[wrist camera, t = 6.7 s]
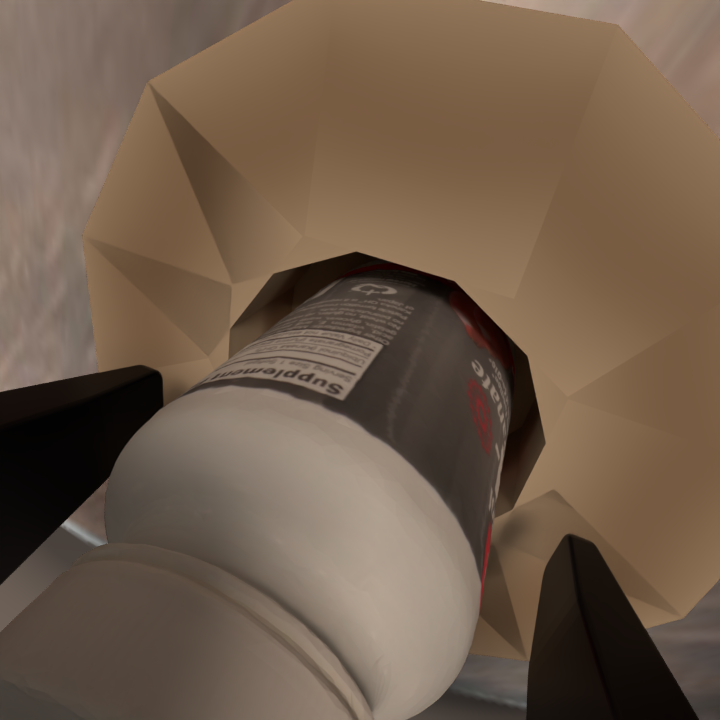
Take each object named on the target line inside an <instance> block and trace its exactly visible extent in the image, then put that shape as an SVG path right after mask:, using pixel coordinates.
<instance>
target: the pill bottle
mask: <svg viewBox="0 0 720 720" xmlns="http://www.w3.org/2000/svg"><path fill="white" fill-rule="evenodd" d="M516 376H517V369H516V355H515V349H514V344H513V340H512V339H511V338H510V337H509V336H508V335H507V334H506V333H505V332H504V331H503V330H502V329H501V328H500V327H499V326H498V325H497V324H496V323H495V322H494V321H493V320H492V319H491V318H490V317H489V316H488V315H487V314H486V313H485V312H484V311H483V310H482V309H481V308H480V306H479V305H478V304H477V303H476V302H475V301H474V300H473V299H472V298H471V297H470V296H469V295H468V294H467V293H466V292H465V291H464V290H463V289H462V288H461V287H460V286H459V285H458V284H457V283H456V282H455V281H453V280H450V279H446V278H443V277H440V276H436V275H433V274H430V273H426V272H423V271H420V270H417V269H413V268H410V267H407V266H403V265H400V264H397V263H393V262H390V261H387V260H383V259H380V260H375V261H371V262H368V263H366V264H362V265H359V266H357V267H355V268H353V269H351V270H350V271H348V272H346V273H344V274H343V275H341V276H340V277H338V278H337V279H336V280H334V281H332V282H331V283H329V284H328V285H327V286H325V287H323V288H322V289H320V290H319V291H318V292H317V293H316V294H315V295H313V296H312V297H311V298H309V299H308V300H306V301H305V302H304V303H303V304H301V305H300V306H299V307H297V308H296V309H295V310H294V311H293V312H291V313H290V314H288V315H287V316H285V317H284V318H283V319H281V320H280V321H279V322H277V323H276V324H275V325H274V326H272V327H271V328H270V329H269V330H267V331H266V332H265V333H264V334H262V335H261V336H260V337H258V338H257V339H256V340H254V341H253V342H252V343H250V344H249V345H247V346H246V347H244V348H243V349H242V350H240V351H239V352H238V353H236V354H235V355H234V356H233V357H231V358H230V359H229V360H227V361H226V362H224V363H223V364H222V365H220V366H219V367H218V368H216V369H215V370H214V371H213V372H211V373H210V374H209V375H207V376H206V377H205V378H203V379H202V380H200V381H199V382H198V383H196V384H195V385H194V386H192V387H191V388H190V389H188V390H187V391H186V392H185V393H183V394H182V395H181V396H179V397H178V398H176V399H175V400H173V401H172V402H170V403H169V404H167V405H166V406H164V407H163V408H161V409H160V410H159V411H158V412H157V413H156V414H155V415H154V416H153V417H152V418H151V419H150V420H149V421H148V422H146V423H145V424H144V425H143V426H142V427H141V428H140V429H139V430H138V431H137V432H136V433H135V434H134V435H133V437H132V438H131V439H130V441H129V442H128V443H127V444H126V446H125V447H124V449H123V450H122V452H121V453H120V455H119V457H118V459H117V460H116V462H115V465H114V467H113V470H112V472H111V475H110V478H109V482H108V486H107V490H106V496H105V528H106V535H107V539H108V544H105V545H101V546H98V547H96V548H94V549H92V550H90V551H88V552H86V553H85V554H83V555H82V556H80V557H79V558H78V559H77V560H76V561H75V562H74V563H73V564H72V566H71V568H70V569H69V570H68V571H66V572H64V573H62V574H61V575H60V576H59V577H57V578H56V579H55V580H54V581H53V582H52V583H51V585H49V587H48V588H47V589H46V590H45V591H43V592H42V593H41V594H40V595H39V596H38V597H37V598H36V599H35V600H34V601H33V602H31V603H30V604H29V605H28V606H27V607H26V608H25V609H24V610H23V611H22V612H21V613H20V614H19V615H18V616H17V617H16V618H14V620H13V621H11V622H10V623H9V625H7V626H6V627H5V628H4V629H3V630H2V631H1V632H0V720H407V719H409V718H411V717H413V716H415V715H416V714H419V713H420V712H422V711H423V710H425V709H426V708H428V707H429V706H430V705H432V704H433V703H434V702H435V701H437V700H438V699H439V698H440V697H441V696H442V695H443V694H444V693H445V691H446V690H447V689H448V688H449V687H450V685H451V684H452V683H453V682H454V680H455V679H456V677H457V676H458V674H459V673H460V671H461V669H462V667H463V665H464V663H465V661H466V658H467V656H468V653H469V650H470V648H471V645H472V641H473V637H474V633H475V628H476V624H477V620H478V617H479V613H480V607H481V601H482V595H483V589H484V580H485V574H486V568H487V562H488V556H489V550H490V542H491V535H492V529H493V524H494V516H495V510H496V500H497V496H498V490H499V485H500V475H501V471H502V466H503V458H504V454H505V447H506V440H507V435H508V429H509V423H510V418H511V412H512V408H513V402H514V395H515V385H516Z"/></svg>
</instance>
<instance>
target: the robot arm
mask: <svg viewBox="0 0 720 720" xmlns="http://www.w3.org/2000/svg"><path fill="white" fill-rule="evenodd" d="M163 406H164V396H163V377H162V374H161V372H159V371H158V370H156V369H153V368H151V367H148V366H146V365H135V366H129V367H124V368H119V369H114V370H109V371H104V372H99V373H94V374H89V375H84V376H79V377H74V378H69V379H64V380H59V381H54V382H49V383H43V384H38V385H33V386H28V387H23V388H18V389H13V390H8V391H3V392H0V585H1V584H2V583H3V582H4V581H5V580H6V579H7V578H8V577H9V576H10V575H11V574H12V573H13V572H14V571H15V570H16V569H17V568H18V567H19V566H20V565H21V564H22V563H23V562H24V561H25V560H26V559H27V558H28V557H29V556H30V555H31V554H32V553H33V552H34V551H35V550H36V549H37V548H38V547H39V546H40V545H41V544H42V543H43V542H44V541H45V540H46V539H47V538H48V537H49V536H50V535H51V534H52V533H53V532H54V531H55V530H56V529H57V528H58V527H59V526H60V525H61V524H63V523H64V522H65V521H66V520H67V519H68V518H69V517H70V516H71V515H72V514H73V513H74V512H75V511H76V510H77V509H78V508H79V507H80V506H81V505H82V504H83V503H84V502H85V501H86V500H87V499H88V498H89V497H90V496H91V495H92V494H93V493H94V492H95V491H96V490H97V489H98V488H99V487H100V486H101V485H102V484H103V483H104V482H105V481H106V480H107V479H108V477H109V476H110V475H111V472H112V470H113V467H114V465H115V462H116V460H117V459H118V457H119V455H120V453H121V452H122V450H123V449H124V447H125V446H126V444H127V443H128V442H129V441H130V439H131V438H132V437H133V435H134V434H135V433H136V432H137V431H138V430H139V429H140V428H141V427H142V426H143V425H144V424H145V423H146V422H148V421H149V420H150V419H151V418H152V417H153V416H154V415H155V414H156V413H157V412H158V411H159V410H160V409H161V408H163ZM526 720H699V719H698V717H697V715H696V714H695V712H694V710H693V708H692V707H691V705H690V703H689V702H688V700H687V698H686V697H685V695H684V693H683V692H682V690H681V688H680V686H679V685H678V683H677V681H676V680H675V678H674V676H673V675H672V673H671V671H670V670H669V668H668V666H667V664H666V663H665V661H664V659H663V658H662V656H661V654H660V653H659V651H658V649H657V648H656V646H655V644H654V642H653V641H652V639H651V637H650V636H649V634H648V632H647V631H646V629H645V627H644V626H643V624H642V622H641V620H640V619H639V617H638V615H637V614H636V612H635V610H634V609H633V607H632V605H631V604H630V602H629V600H628V598H627V597H626V595H625V593H624V592H623V590H622V588H621V587H620V585H619V583H618V582H617V580H616V578H615V576H614V575H613V573H612V571H611V570H610V568H609V566H608V565H607V563H606V561H605V560H604V558H603V556H602V554H601V553H600V551H599V549H598V548H597V546H596V545H595V544H594V543H593V542H592V541H590V540H587V539H585V538H582V537H580V536H577V535H574V534H572V533H569V534H566V535H565V536H564V537H563V538H562V540H561V541H560V543H559V545H558V546H557V548H556V550H555V551H554V553H553V555H552V556H551V558H550V559H549V561H548V563H547V565H546V567H545V570H544V574H543V578H542V584H541V591H540V597H539V603H538V610H537V616H536V623H535V629H534V636H533V642H532V648H531V655H530V662H529V671H528V686H527V715H526Z"/></svg>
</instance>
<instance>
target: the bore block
mask: <svg viewBox="0 0 720 720" xmlns="http://www.w3.org/2000/svg"><path fill="white" fill-rule="evenodd" d="M82 239H83V247H84V255H85V264H86V272H87V280H88V289H89V297H90V306H91V314H92V322H93V331H94V339H95V347H96V356H97V364H98V372H104V371H109V370H114V369H119V368H124V367H129V366H135V365H146V366H148V367H151V368H153V369H156V370H158V371H159V372H161V374H162V377H163V396H164V406H166V405H167V404H169V403H170V402H172V401H173V400H175V399H176V398H178V397H179V396H181V395H182V394H183V393H185V392H186V391H187V390H188V389H190V388H191V387H192V386H194V385H195V384H196V383H198V382H199V381H200V380H202V379H203V378H205V377H206V376H207V375H209V374H210V373H211V372H213V371H214V370H215V369H216V368H218V367H219V366H220V365H222V364H223V363H224V362H226V361H227V360H229V359H230V358H231V357H233V356H234V355H235V354H236V353H238V352H239V351H240V350H242V349H243V348H244V347H246V346H247V345H249V344H250V343H252V342H253V341H254V340H256V339H257V338H258V337H260V336H261V335H262V334H264V333H265V332H266V331H267V330H269V329H270V328H271V327H272V326H274V325H275V324H276V323H277V322H279V321H280V320H281V319H283V318H284V317H285V316H287V315H288V314H290V313H291V312H293V311H294V310H295V309H296V308H297V307H299V306H300V305H301V304H303V303H304V302H305V301H306V300H308V299H309V298H311V297H312V296H313V295H315V294H316V293H317V292H318V291H319V290H320V289H322V288H323V287H325V286H327V285H328V284H329V283H331V282H332V281H334V280H336V279H337V278H338V277H340V276H341V275H343V274H344V273H346V272H348V271H350V270H351V269H353V268H355V267H357V266H359V265H362V264H366V263H368V262H371V261H375V260H380V259H383V260H387V261H390V262H393V263H397V264H400V265H403V266H407V267H410V268H413V269H417V270H420V271H423V272H426V273H430V274H433V275H436V276H440V277H443V278H446V279H450V280H453V281H455V282H456V283H457V284H458V285H459V286H460V287H461V288H462V289H463V290H464V291H465V292H466V293H467V294H468V295H469V296H470V297H471V298H472V299H473V300H474V301H475V302H476V303H477V304H478V305H479V306H480V308H481V309H482V310H483V311H484V312H485V313H486V314H487V315H488V316H489V317H490V318H491V319H492V320H493V321H494V322H495V323H496V324H497V325H498V326H499V327H500V328H501V329H502V330H503V331H504V332H505V333H506V334H507V335H508V336H509V337H510V338H511V339H512V340H513V344H514V349H515V355H516V369H517V376H516V385H515V395H514V402H513V408H512V412H511V418H510V423H509V429H508V435H507V440H506V447H505V454H504V458H503V466H502V471H501V475H500V485H499V490H498V496H497V500H496V510H495V516H494V524H493V529H492V535H491V542H490V550H489V556H488V562H487V568H486V574H485V580H484V589H483V595H482V601H481V607H480V613H479V617H478V620H477V624H476V628H475V633H474V637H473V641H472V645H471V648H470V650H469V653H468V654H476V655H484V656H492V657H499V658H507V659H515V660H523V661H530V655H531V648H532V642H533V636H534V629H535V623H536V616H537V610H538V603H539V597H540V591H541V584H542V578H543V574H544V570H545V567H546V565H547V563H548V561H549V559H550V558H551V556H552V555H553V553H554V551H555V550H556V548H557V546H558V545H559V543H560V541H561V540H562V538H563V537H564V536H565V535H566V534H569V533H572V534H574V535H577V536H580V537H582V538H585V539H587V540H590V541H592V542H593V543H594V544H595V545H596V546H597V548H598V549H599V551H600V553H601V554H602V556H603V558H604V560H605V561H606V563H607V565H608V566H609V568H610V570H611V571H612V573H613V575H614V576H615V578H616V580H617V582H618V583H619V585H620V587H621V588H622V590H623V592H624V593H625V595H626V597H627V598H628V600H629V602H630V604H631V605H632V607H633V609H634V610H635V612H636V614H637V615H638V617H639V619H640V620H641V622H642V624H643V626H644V627H645V629H646V628H650V627H653V626H657V625H661V624H664V623H668V622H671V621H675V620H679V619H682V618H684V617H685V616H686V615H687V614H688V613H689V612H690V611H691V609H692V608H693V607H694V606H695V605H696V604H697V603H698V602H699V601H700V600H701V599H702V598H703V596H704V595H705V594H706V593H707V592H708V591H709V590H710V589H711V588H712V587H713V586H714V585H715V584H716V582H717V581H718V580H719V579H720V139H719V138H718V137H717V136H716V135H715V134H714V132H713V131H712V130H711V129H710V128H709V127H708V126H707V124H706V123H705V122H704V121H703V120H702V119H701V118H700V117H699V115H698V114H697V113H696V112H695V111H694V110H693V109H692V108H691V106H690V105H689V104H688V103H687V102H686V101H685V100H684V99H683V97H682V96H681V95H680V94H679V93H678V92H677V91H676V90H675V88H674V87H673V86H672V85H671V84H670V83H669V82H668V80H667V79H666V78H665V77H664V76H663V75H662V74H661V73H660V71H659V70H658V69H657V68H656V67H655V66H654V65H653V64H652V62H651V61H650V60H649V59H648V58H647V57H646V56H645V55H644V53H643V52H642V51H641V50H640V49H639V48H638V47H637V46H636V44H635V43H634V42H633V41H632V40H631V39H630V38H629V36H628V35H627V34H626V33H625V32H624V31H623V30H622V29H621V27H620V26H619V25H617V24H612V23H606V22H600V21H594V20H589V19H583V18H577V17H571V16H566V15H560V14H554V13H548V12H543V11H537V10H531V9H526V8H520V7H514V6H508V5H503V4H497V3H491V2H485V1H480V0H293V1H291V2H289V3H287V4H286V5H284V6H282V7H280V8H278V9H277V10H275V11H273V12H271V13H269V14H268V15H266V16H264V17H262V18H261V19H259V20H257V21H255V22H253V23H252V24H250V25H248V26H246V27H244V28H243V29H241V30H239V31H237V32H236V33H234V34H232V35H230V36H228V37H227V38H225V39H223V40H221V41H219V42H218V43H216V44H214V45H212V46H211V47H209V48H207V49H205V50H203V51H202V52H200V53H198V54H196V55H194V56H193V57H191V58H189V59H187V60H186V61H184V62H182V63H180V64H178V65H177V66H175V67H173V68H171V69H169V70H168V71H166V72H164V73H162V74H160V75H159V76H157V77H155V78H153V79H152V80H150V81H148V82H147V85H146V87H145V89H144V92H143V94H142V96H141V99H140V101H139V103H138V106H137V108H136V110H135V113H134V115H133V117H132V120H131V122H130V124H129V127H128V129H127V132H126V134H125V136H124V139H123V141H122V143H121V146H120V148H119V150H118V153H117V155H116V157H115V160H114V162H113V164H112V167H111V169H110V171H109V174H108V176H107V178H106V181H105V183H104V185H103V188H102V190H101V192H100V195H99V197H98V199H97V202H96V204H95V207H94V209H93V211H92V214H91V216H90V218H89V221H88V223H87V225H86V228H85V230H84V232H83V235H82ZM164 406H163V407H164Z"/></svg>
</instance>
